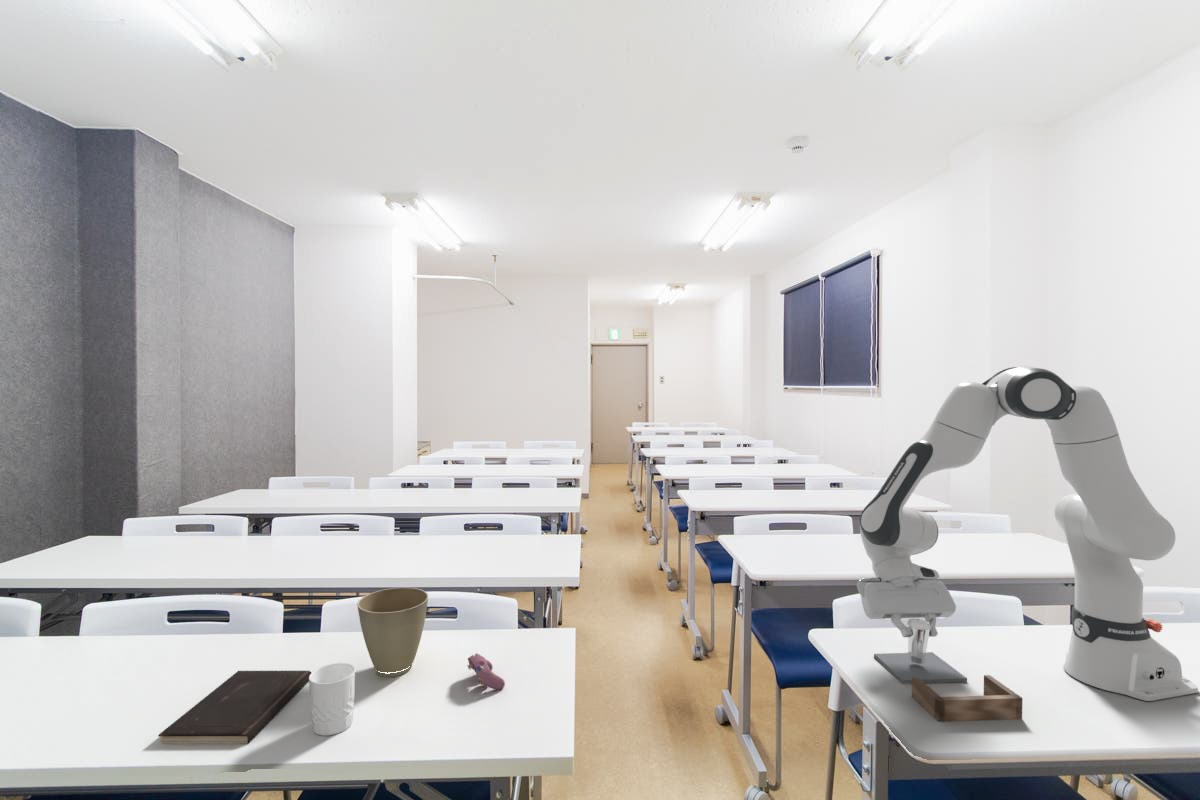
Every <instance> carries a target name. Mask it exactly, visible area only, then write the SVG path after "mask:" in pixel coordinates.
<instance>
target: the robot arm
mask: <svg viewBox="0 0 1200 800" xmlns="http://www.w3.org/2000/svg"><path fill="white" fill-rule="evenodd" d="M1007 415H1010V416H1013V417H1019V418H1026V419H1029V420H1044V421H1045V423H1046V424H1047V426H1048V428H1049V430H1050V435H1051V439H1052V442H1053V446H1054V449H1055V452H1056V457H1057V460H1058V463H1059V467H1060V471H1061V473H1062V476H1063V478H1064V479H1065V480H1066V482H1067V483H1068V484H1069V485H1070V486H1071V487H1072V488H1073V489H1074V490H1075V493H1070V494H1067V495H1065V496H1063V497H1062V498H1061V499H1059V501H1058V502H1057V504H1056V505H1055V509H1054V516H1055V517H1054V518H1055V521H1056V522H1057V524H1058V526H1059V527H1060V528H1061V531H1062V532H1063V534H1064V536H1065V540H1066V543H1067V547H1068V551H1069V554H1070V558H1071V561H1072V564H1073V571H1074V604H1073V605H1072V606H1071V624H1072V629H1071V630H1072V631H1071V636H1070V641H1069V646H1068V652H1066V655H1065V662H1064V664H1063V670H1064V671H1065V672H1066V673H1068V674H1069V676H1071V677H1072V678H1074V679H1077V680H1078V681H1080V682H1083V683H1084V684H1085V685H1086V684H1087V685H1089V686H1093V687H1095V688H1099V689H1100V690H1105V691H1109V692H1112V693H1116V694H1120V695H1124V696H1129V697H1132V698H1134V699H1137V700H1141V701H1145V702H1152V701H1158V700H1164V699H1170V698H1175V697H1181V696H1186V695H1190V694H1191V695H1192V694H1196V693H1199V688H1198V686H1197V685H1196V684H1195V683H1194V682H1193V681H1191V680H1190V679H1188V678H1187V677H1185V676H1183V670H1182V664H1181V661H1180V660H1179V658H1178V657H1177V655H1176V654H1175V653H1173V652H1171V651H1170V650H1169V649H1168V648H1166V647H1165V646H1163V644H1161V643H1160V642H1158V641H1157V640H1155V639H1154V637H1152V636H1151V633H1150V630H1152V631H1153V632H1155V633H1160V632H1162V631H1163V628H1164V627H1163V624H1162V623H1161V622H1158V621H1155V620H1153V619H1148V620H1147V619H1145V618H1144V617H1143V606H1144V603H1143V602H1144V585H1143V581H1142V579H1141V577H1140V575H1139V574H1138V573H1137V572H1136V570H1135V568H1134V567H1133V564H1132V562H1131V560H1133V559H1134V560H1141V561H1157V560H1160V559H1161V558H1164V557H1166V556H1167V555H1168V554H1169V553H1170V552H1171V551H1172V549H1173V547H1174V546H1175V542H1176V532H1175V529H1174V527H1173V526H1172V524H1171V523H1170V522H1169V520H1168V519H1166V518H1165V517H1164V516H1163V515H1162V514H1160V512H1158V510H1157V509H1156V508H1155V507H1154V506H1153V504H1152V503H1151V501H1150V499H1148V497H1147V496H1146V494H1145V492H1144V491H1143V490H1142V488H1141V486H1140V485H1139V483H1138V482H1137V480H1136V478H1135V476H1134V474H1133V473H1132V470H1131V468H1130V467H1129V463H1128V460H1127V456H1126V454H1125V451H1124V448H1123V445H1122V442H1121V438H1120V435H1119V430H1118V429H1117V425H1116V422H1115V420H1114V417H1113V414H1112V411H1111V410H1110V408H1109V406H1108V404H1107V402H1106V400H1105V398H1104V397H1103V395H1102V394H1101V392H1099V391H1098V390H1097V389H1095V388H1093V387H1089V386H1082V385H1077V386H1076V385H1075V386H1070V385H1069V384H1068V383H1067V382H1065V381H1064V380H1063V379H1062V378H1061V377H1060V376H1059V375H1057V374H1056V373H1055V372H1053V371H1050V370H1048V369H1044V368H1038V367H1034V366H1029V365H1028V366H1027V365H1026V366H1016V367H1015V366H1014V367H1008V368H1005V369H1002V370H1001V371H999V372H997V373H996V374H995V373H994V374H993V376H991V377H990V378H988V379H987V380H985V381H984V382H983V383H979V382H971V381H969V382H961V383H959V384H957V385H956V386H955V387H954V388H953V389H952V390H951V392H950V393H949V395H948V396H947V397H946V399H945V400H944V401H943V403H942V405H941V406H940V408H939V410H938V411H937V413H936V415H935V418H934V420H933V421H932V423H931V425H930V427H929V428H928V430H927V431H926V432H925V433H924V434H923V436H922V437H921V438H920V439H918V441H916V442H914V443H912V444H911V445H910V446H909V447H908V448H907V449H906V450H905V452H904V453H903V454H902V455H901V457H900V459H899V460H898V462H897V463H896V465H895V466H894V467H893V469H892V470H891V472H890V473H889V475H888V477H886V480H885V482H884V483H883V485H882V486H881V488H880V489H879V491H878V492H877V494H876V495H875V496H874V498H872V500H870V501H869V502H868V504H867V505H866V506H865V507H864V508H863V510H862V511H861V514H860V517H859V524H860V525H859V531H860V532H859V534H860V538H861V542H862V544H863V548H864V550H865V553H866V555H867V557H868V558H869V559H870V561H871V566H872V571H873V573H874V575H875V577H871V578H868V577H862V578H860V579H859V580H857V582H856V588H857V591H858V593H859V594H860V599H861V603H862V608H863V611H864V614H865V616H866V617H868V618H869V619H870V620H879V619H880V620H882V619H884V620H885V619H889V620H890V621H891V623H892V624H893V625H894V626H895V627H896V628H897V629H898V630H899V631H900V633H901V635H902V637H903V638H908V637H911V636H912V632H911V629H910V627H907V626H906V625H905V624H904V623H903V621H902V619H923V618H924V621H925V622H927V623H928V624H929V625H930V624H931V622H932V620H933V618H935V619H934V621H933V622H932V624H931V626H930V627H931V628H930V633H929V638H930V637H934V638H935V637H937V636H938V634H939V633H938V630H937V628H936V625H937V624H936V623H937V619H938V618H949V617H951V616H952V615H953V614H954V613H956V610H957V606H956V604H955V601H954V599H953V597H952V595H951V593H950V591H949V589H948V587H946V585H945V584H944V583H943V582H942V581H941V580H939V579H940V574H939V572H938V571H937V570H936V569H934V568H933V569H932V568H929V567H926V566H922V565H918V564H916V563H912V560H911V556H913V555H918V554H921V553H924V552H926V551H928V550H930V549H932V548H933V547H934V546H935V544H936V543H937V541H938V538H939V528H938V524H937V521H936V520H935V518H934V516H932V515H931V514H929V513H928V512H924V511H921V510H918V509H917V510H916V509H913V508H909V507H905V505H906V503H907V502H908V500H909V499H910V498H911V496H912V495H913V493H914V491H915V490H916V488H917V486H918V485H919V484H920V483H921V481H922V480H923V479H924V478H926V477H927V476H929V475H930V474H932V473H936V472H939V471H943V470H949V469H950V470H951V469H957V468H961V467H964V466H966V465H969V464H971V463H972V462H973V461H974V460H976V458H977V457H978V456H979V454H980V453H981V451H982V449H983V447H984V445H985V443H986V441H987V439H988V437H989V435H990V433H991V430H992V428H993V427H994V425H995V424H996V423H997V422H998V421H999V420H1000V419H1001V418H1003V417H1005V416H1007Z"/></svg>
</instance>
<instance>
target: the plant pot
mask: <svg viewBox="0 0 1200 800" xmlns="http://www.w3.org/2000/svg"><path fill="white" fill-rule="evenodd" d="M428 601H429V594H428V593H427V592H426V591H425V590H423V589H421V588H417V587H408V586H407V587H403V586H402V587H392V588H391V587H390V588H386V589H385V588H384V589H381V590H377V591H373V592H371V593H368V594H366V595H364V596H363V597H361V598H360V599H359V600H358V601H357V603H356V605H357V610H358V611H357V612H358V618H359V622H360V629H361V633H362V636H363V639H364V642H365V646H366V649H367V652H368V656H369V658H370V661H371V663H372V666H373V667H374V669H376V670H377V671H376V670H375V672H376V673H377V675H378V676H380V677H384V678H394V677H398V676H399V677H400V676H402V675H404V674H406V673H407V672H410V670H411V669H412V667H413V664H414V661H415V658H416V656H417V652H418V650H419V646H420V642H421V638H422V635H423V631H424V626H425V622H426V621H425V620H426V616H427V611H428V610H427V608H428ZM412 663H413V664H412ZM409 666H410V667H409ZM408 667H409V668H408ZM406 668H408V669H406ZM403 669H406V670H404V671H401V670H403ZM378 671H380V672H387V673H388V672H396V671H401V672H397V673H390V674H385V673H380V672H378Z"/></svg>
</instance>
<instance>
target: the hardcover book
mask: <svg viewBox="0 0 1200 800" xmlns="http://www.w3.org/2000/svg"><path fill="white" fill-rule="evenodd" d="M311 673H312V672H311V670H238V671H236V672H235V673H234V674H233V675H231V676H230V677H229V678H228V679H226V680H225V681H224V682H223V683H221V684H220V685H219V686H217V687H216V688H214V690H213V691H211V692H210V693H209V694H208V695H206V696H205V697H204V698H202V699H201V700H200V701H199V702H197V703H196V704H195V705H193V707H191V708H190V709H188V710H187V711H186V712H185V713H184V714H183V715H181V716H180V717H179V718H177V720H175V721H174V722H173V723H172V724H170V725H169V726H168V727H166V728H165V729H164V730H163V731H161V732H160V733H159V734H158V737H161V740H160V742H161V744H247V745H249V744H250V743H251V742H252V741H253V740H254V739H255V738H257V735H259V734H260V733H261V732H262V731H263V729H264V728H266V726H267V725H269V724H270V722H271V721H273V719H275V717H276V716H277V715H278V714H279V713H280V712H281V711H282V710H283V709H284V708H285V707H286V706H287V705H288V704H289V703H290V702H291V700H293V699H294V698H295V697H296V696H297V695H298V693H299V692H300V691H302V689H304V687H305V686H306V685H307V684H308V683H309V676H310V674H311Z"/></svg>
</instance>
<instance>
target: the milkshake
mask: <svg viewBox="0 0 1200 800" xmlns="http://www.w3.org/2000/svg"><path fill="white" fill-rule="evenodd" d="M934 619H935V618H933V620H932V622H933V621H934ZM932 622H931V624H932ZM931 624H930V625H929V622H926V620H923V619H921V618H909V619H908V620H907V622H906V625H907V626H906V627H910V629H911V632H912V636H911V637H907V647H908V648H907V649H908V650H907V651H908V652H907V653H908V659H909V660H910V661H912V662H914V663H919V664H922V663H924V662H925V655H926V652H927V650H928V649H927V648H928V642H929V638H930V637H929V633H930V628H931V627H930V626H931Z"/></svg>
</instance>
